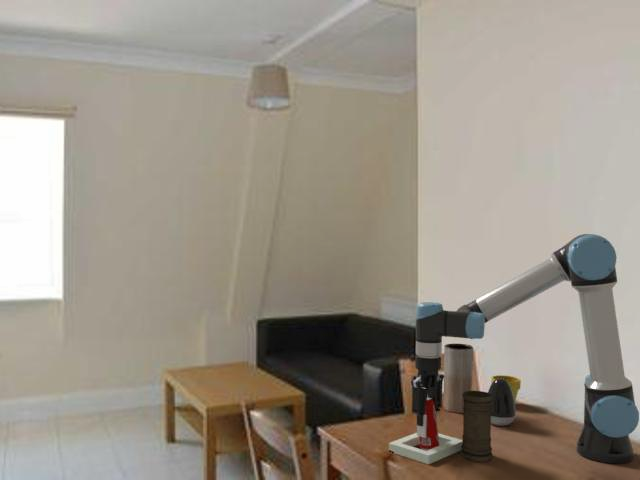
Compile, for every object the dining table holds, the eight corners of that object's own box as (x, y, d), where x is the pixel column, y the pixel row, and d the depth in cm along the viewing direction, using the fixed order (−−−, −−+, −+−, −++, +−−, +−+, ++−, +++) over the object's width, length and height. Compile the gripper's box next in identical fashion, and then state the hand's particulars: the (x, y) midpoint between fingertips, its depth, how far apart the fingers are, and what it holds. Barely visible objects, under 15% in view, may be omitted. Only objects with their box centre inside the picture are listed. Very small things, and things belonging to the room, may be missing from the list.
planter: (477, 409, 238) (478, 346, 237) (462, 415, 230) (463, 350, 230) (452, 403, 245) (454, 342, 244) (437, 409, 237) (439, 345, 236)
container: (486, 464, 184) (488, 400, 184) (455, 457, 189) (457, 395, 189) (496, 454, 192) (498, 393, 191) (466, 448, 197) (467, 388, 196)
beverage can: (440, 450, 193) (438, 399, 193) (418, 451, 194) (416, 400, 193) (437, 444, 199) (435, 394, 199) (416, 444, 200) (413, 395, 199)
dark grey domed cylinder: (519, 422, 223) (520, 377, 222) (510, 430, 214) (511, 383, 214) (489, 417, 228) (490, 373, 228) (479, 424, 220) (480, 379, 219)
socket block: (463, 448, 196) (464, 439, 196) (428, 464, 184) (428, 454, 183) (424, 437, 206) (425, 428, 206) (388, 451, 193) (388, 442, 193)
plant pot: (524, 404, 245) (525, 378, 244) (513, 410, 237) (513, 383, 236) (498, 399, 251) (498, 373, 251) (486, 405, 243) (486, 378, 243)
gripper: (434, 349, 203) (432, 425, 204) (400, 357, 190) (398, 438, 191) (455, 353, 197) (453, 431, 198) (421, 361, 185) (419, 444, 186)
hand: (426, 434), depth 195 cm, fingers open, 4 cm apart
